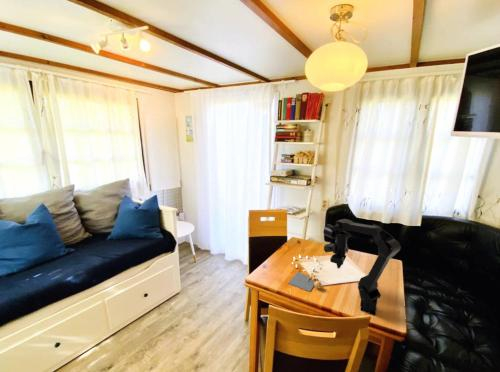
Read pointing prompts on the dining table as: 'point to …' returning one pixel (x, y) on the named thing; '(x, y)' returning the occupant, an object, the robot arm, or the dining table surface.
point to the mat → (302, 281)
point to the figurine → (317, 283)
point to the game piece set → (307, 257)
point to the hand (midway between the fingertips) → (338, 268)
